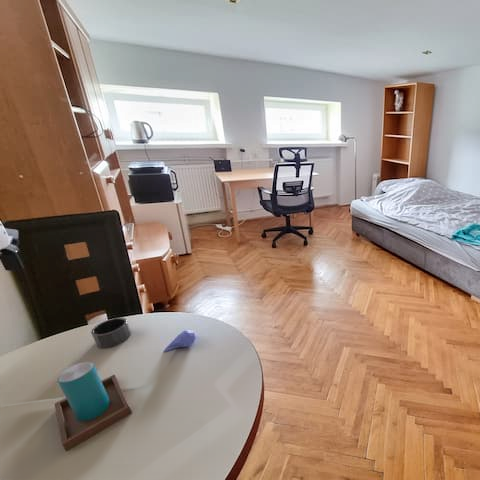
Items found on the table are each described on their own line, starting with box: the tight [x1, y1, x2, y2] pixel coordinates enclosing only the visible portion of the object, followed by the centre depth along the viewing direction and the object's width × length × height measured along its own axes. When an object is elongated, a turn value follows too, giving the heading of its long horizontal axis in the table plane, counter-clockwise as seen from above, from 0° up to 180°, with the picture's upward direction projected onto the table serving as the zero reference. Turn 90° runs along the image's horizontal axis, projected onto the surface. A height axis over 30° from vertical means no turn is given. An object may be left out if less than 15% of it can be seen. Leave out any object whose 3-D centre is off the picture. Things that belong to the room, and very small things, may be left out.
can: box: [56, 361, 110, 422], centre depth 61 cm, size 6×6×11 cm
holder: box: [90, 317, 132, 349], centre depth 84 cm, size 8×8×5 cm
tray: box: [54, 374, 133, 452], centre depth 63 cm, size 14×11×2 cm
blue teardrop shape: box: [162, 329, 197, 353], centre depth 82 cm, size 8×6×6 cm
